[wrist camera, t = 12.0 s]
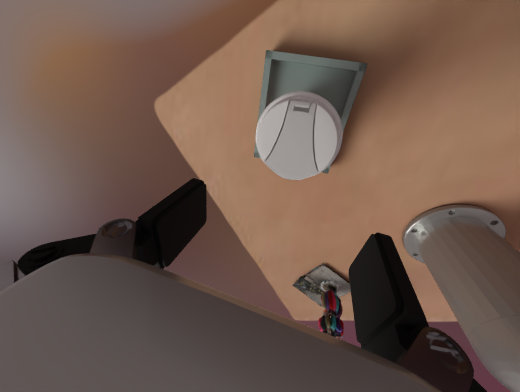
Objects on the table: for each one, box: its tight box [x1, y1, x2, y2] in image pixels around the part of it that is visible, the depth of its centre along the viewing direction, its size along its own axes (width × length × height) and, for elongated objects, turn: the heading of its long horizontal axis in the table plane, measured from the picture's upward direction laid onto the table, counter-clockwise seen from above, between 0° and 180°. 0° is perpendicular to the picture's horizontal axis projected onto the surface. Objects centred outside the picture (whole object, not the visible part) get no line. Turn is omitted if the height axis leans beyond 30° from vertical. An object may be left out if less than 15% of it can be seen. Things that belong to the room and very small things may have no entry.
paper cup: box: [256, 91, 343, 180], centre depth 22 cm, size 8×8×14 cm
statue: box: [293, 264, 351, 339], centre depth 40 cm, size 11×9×15 cm
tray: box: [254, 50, 367, 173], centre depth 27 cm, size 12×14×2 cm
